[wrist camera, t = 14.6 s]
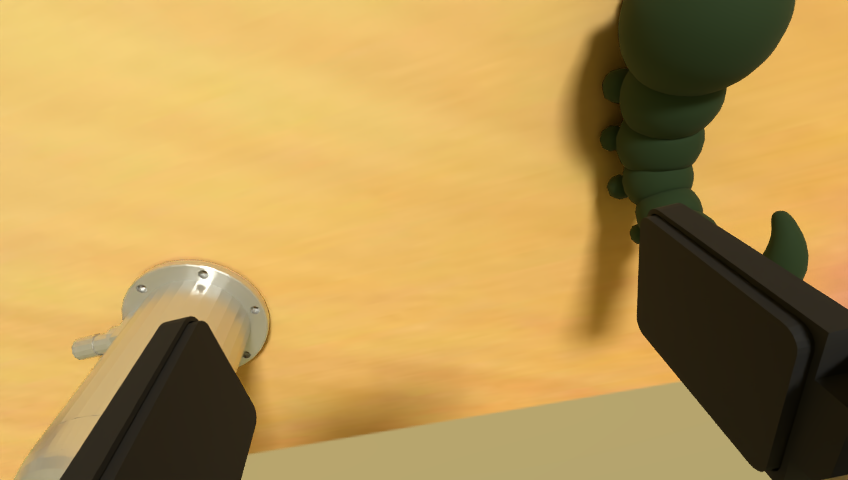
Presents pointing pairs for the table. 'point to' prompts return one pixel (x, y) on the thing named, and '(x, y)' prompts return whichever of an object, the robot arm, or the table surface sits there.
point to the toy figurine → (687, 99)
